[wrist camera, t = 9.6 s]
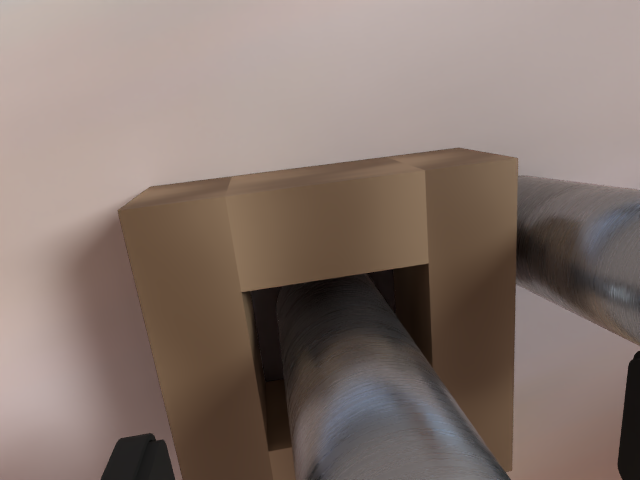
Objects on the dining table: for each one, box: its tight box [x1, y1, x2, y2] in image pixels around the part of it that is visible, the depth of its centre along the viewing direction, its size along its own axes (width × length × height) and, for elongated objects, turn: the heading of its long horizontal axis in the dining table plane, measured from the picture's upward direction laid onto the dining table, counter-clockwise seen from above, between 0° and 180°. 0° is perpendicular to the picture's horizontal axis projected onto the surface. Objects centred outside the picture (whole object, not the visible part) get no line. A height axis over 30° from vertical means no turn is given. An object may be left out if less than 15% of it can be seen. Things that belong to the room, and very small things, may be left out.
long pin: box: [276, 273, 511, 480], centre depth 10 cm, size 4×4×12 cm
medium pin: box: [516, 176, 640, 346], centre depth 12 cm, size 4×4×8 cm
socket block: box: [118, 148, 518, 480], centre depth 14 cm, size 10×10×4 cm
